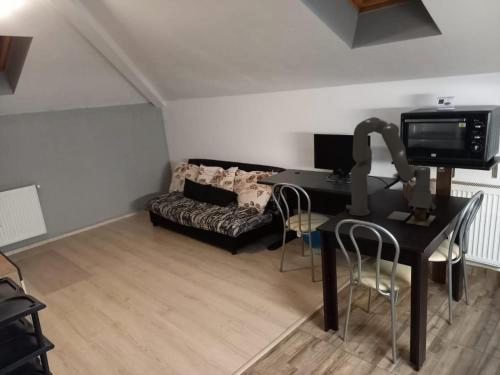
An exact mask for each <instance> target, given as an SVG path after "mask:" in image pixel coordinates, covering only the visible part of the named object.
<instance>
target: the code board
mask: <svg viewBox="0 0 500 375" xmlns="http://www.w3.org/2000/svg"><path fill="white" fill-rule="evenodd" d="M434 219H436V215H430V217H429V218H428V219H427V220H426V221H425V222H423V221H416V220H414V216H413V215H412V216H411V217H410V218H408V220H407V221H405V223H406V224H413V225H417V226H418V225H419V226H425V227H429V226H430V224H431V223H432V222H433V221H434Z"/></svg>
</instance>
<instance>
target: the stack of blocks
mask: <svg viewBox="0 0 500 375" xmlns="http://www.w3.org/2000/svg"><path fill="white" fill-rule="evenodd" d="M413 185H416V181H406V182H402V196H403V197H404V198H405V199H406V201H408V203H409V202H410V201H412V196H413V191H414V190H415V188H413ZM411 204H412V203H411Z"/></svg>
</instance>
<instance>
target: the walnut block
mask: <svg viewBox="0 0 500 375" xmlns="http://www.w3.org/2000/svg"><path fill="white" fill-rule="evenodd" d="M426 213H427V209H426V208H418V207H416V208H415V215H414V220H416V221H423V222H425V221H426V220H427V219H426Z"/></svg>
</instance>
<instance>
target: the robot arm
mask: <svg viewBox="0 0 500 375" xmlns="http://www.w3.org/2000/svg"><path fill="white" fill-rule="evenodd" d="M399 132H400V129H399V126H398V125H397V124H395V123H393V122H391V121H387V120H384V119H382V118H379V117H375V116H374V117H373V116H372V117H369V118H367V119H364V120H362V121H361V122H359V123H358V124H357V125H356V126H355V128H354V131H353V139H352V141H353V142H352V159H353V161H355V163H356V164H355V165H353V167H352V168H351V169H350V181H351V205H350V204H346V206H345V208H346V210H347V209H348V210H349V212H348V213H349V214H350V215H352V216H355V215H356V216H355V217H365V216H368V215H370V213H371V211H370V210H369V209H368V180H367V179H368V178H367V177H368V175H369V174H371V171H372V164H373V162H372V160H373V152H372V148H371V147H370V146H369V144H368V143H369V138H368V136H369V134H372V133H377V134H380V135H381V137H382V139H383V142H384V143H385V145H386V147H387V149H388V151H389V153H390V156H391V157H390V158H391V159H392V160H391V161H392V163H393V165H394V168H395V171H396V172H397V174H398V176H399V178H400V179H401V180H402V181H404V182H411V181H412V180H413V179H414V178H415V182H416V185H413V188H415V190H414V191H413V196H412V201H410V202H409V201H408V203H407V205H408V207H410V208H411V209H412V211H413V212H412V216H414V215H415V208H416V207H418V208H426V209H427V213H426V219H428V218H429V217H430V216H431V214H430V213H431V212H432V211H434V210H435V209H436V208H437V206H436V204H434V202H433V201H432V200H433V199H432V191H431V189H430V188H431V168H430V167H428V166H420V165H419V166H418V165H413V164H412V165H411V164H409V162H408V159H407V155H406V154H407V153H406V146H405V144H404V143H403V141H402V139H401V138H402V137H401V136H400V135H399ZM411 203H412V204H411Z"/></svg>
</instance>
